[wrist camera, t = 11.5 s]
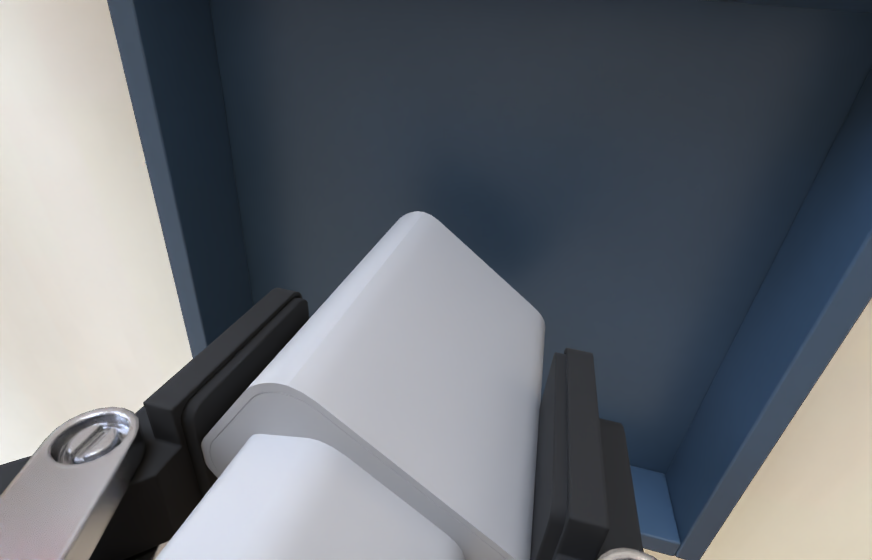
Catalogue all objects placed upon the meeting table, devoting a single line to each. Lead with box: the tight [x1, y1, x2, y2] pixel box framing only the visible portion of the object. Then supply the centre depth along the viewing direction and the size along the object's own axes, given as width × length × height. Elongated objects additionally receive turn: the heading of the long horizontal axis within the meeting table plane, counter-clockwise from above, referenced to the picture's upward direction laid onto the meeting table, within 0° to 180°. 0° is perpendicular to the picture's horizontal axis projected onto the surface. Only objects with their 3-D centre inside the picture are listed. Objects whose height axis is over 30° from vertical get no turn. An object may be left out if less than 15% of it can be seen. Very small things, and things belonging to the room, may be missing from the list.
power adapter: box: [155, 211, 545, 560], centre depth 8 cm, size 3×5×12 cm, turn 49°
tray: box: [107, 0, 872, 560], centre depth 15 cm, size 20×18×4 cm
